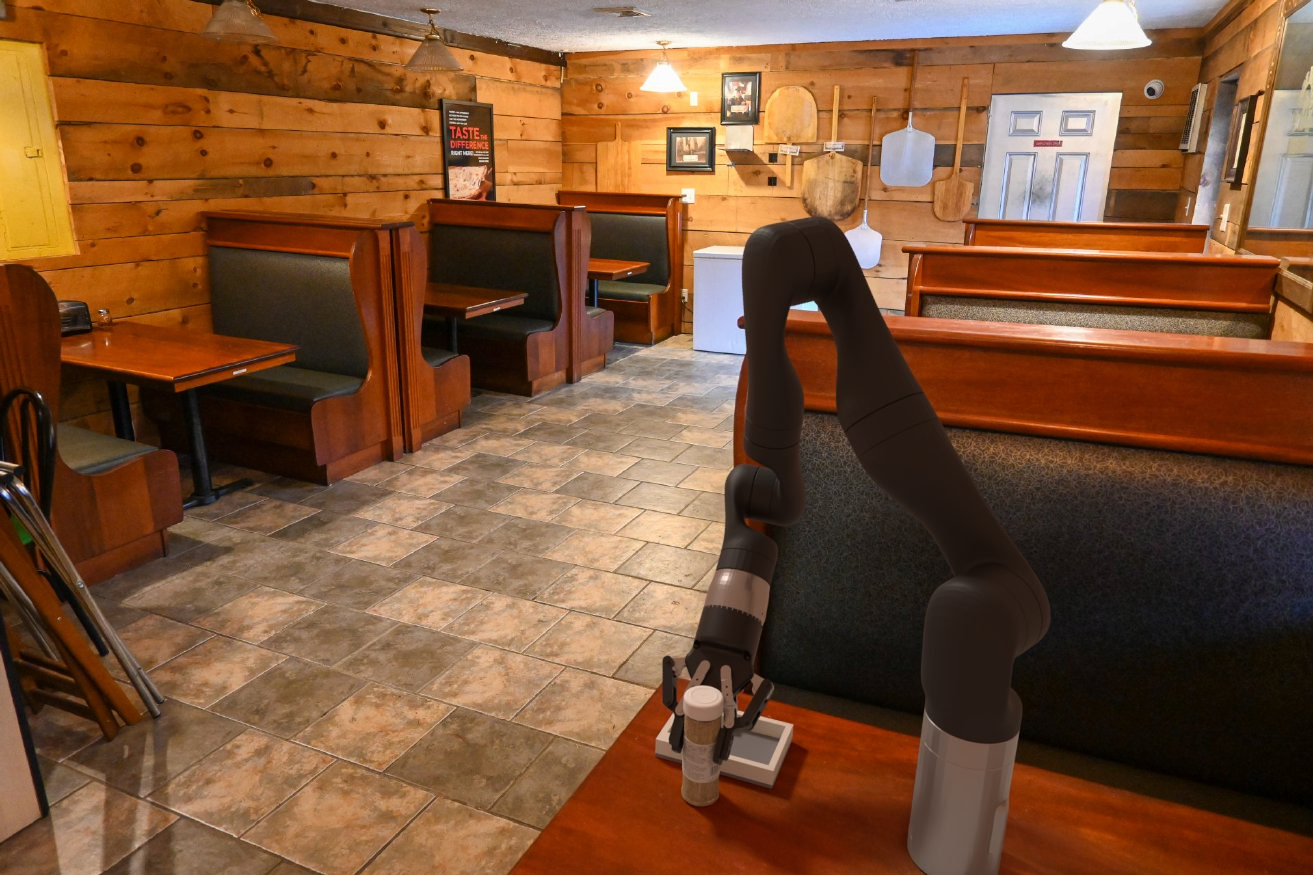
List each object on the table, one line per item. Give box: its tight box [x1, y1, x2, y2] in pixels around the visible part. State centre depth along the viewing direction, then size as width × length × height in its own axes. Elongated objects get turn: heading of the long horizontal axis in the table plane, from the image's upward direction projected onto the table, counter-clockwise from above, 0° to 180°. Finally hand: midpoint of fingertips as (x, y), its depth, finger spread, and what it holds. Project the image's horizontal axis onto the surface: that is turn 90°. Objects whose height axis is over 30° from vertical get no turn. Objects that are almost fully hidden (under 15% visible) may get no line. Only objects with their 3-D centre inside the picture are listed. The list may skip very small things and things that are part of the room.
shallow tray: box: [654, 710, 794, 790], centre depth 109 cm, size 15×10×2 cm, turn 68°
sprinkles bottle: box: [680, 686, 724, 807], centre depth 99 cm, size 5×5×13 cm
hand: (696, 756), depth 98 cm, fingers closed on sprinkles bottle, 4 cm apart
